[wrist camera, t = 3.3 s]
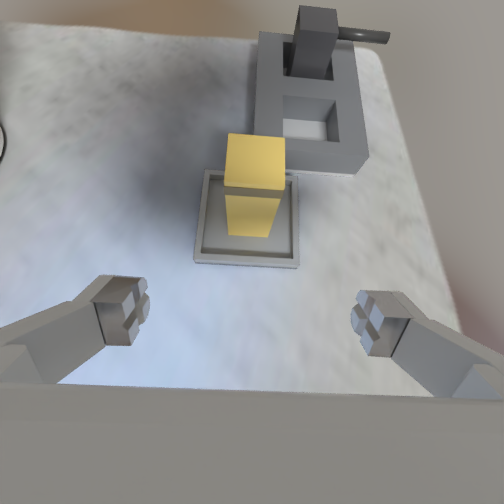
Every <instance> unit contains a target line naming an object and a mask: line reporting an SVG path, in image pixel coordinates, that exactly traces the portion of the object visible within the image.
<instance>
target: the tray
mask: <svg viewBox="0 0 504 504" xmlns="http://www.w3.org/2000/svg"><path fill="white" fill-rule="evenodd" d="M224 176H225V171H223V170H210V169H205V171H204V178H203V186H202V194H201V202H200V210H199V218H198V226H197V233H196V241H195V249H194V257H193V260H194V261H195V263H202V264H219V265H236V266H254V267H271V268H288V269H297V268H298V267H299V265H300V258H299V214H298V176H289V175H285V188H284V194H283V197H282V199H281V200H280V203H279V206H278V209H277V212H276V215H275V217H274V220H273V223H272V226H271V229H270V232H269V235H268V237H252V236H237V235H228V225H227V213H226V200H225V195H224Z"/></svg>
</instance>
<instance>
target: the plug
mask: <svg viewBox="0 0 504 504" xmlns="http://www.w3.org/2000/svg"><path fill="white" fill-rule="evenodd" d="M284 188H285V138H281V137H269V136H257V135H245V134H234V133H229V134H228V144H227V155H226V165H225V176H224V195H225V200H226V213H227V225H228V235H237V236H252V237H268V235H269V232H270V229H271V226H272V223H273V220H274V217H275V215H276V212H277V209H278V206H279V203H280V200H281V199H282V197H283V194H284Z"/></svg>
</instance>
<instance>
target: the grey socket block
mask: <svg viewBox="0 0 504 504" xmlns="http://www.w3.org/2000/svg"><path fill="white" fill-rule="evenodd" d="M389 38H390V32H384V31H374V30H366V29H356V28H346V27H338V21H337V12H336V9H329V8H320V7H311V6H301V5H299V10H298V15H297V20H296V25H295V31H294V35H290V34H280V33H271V32H261V31H260V32H259V42H258V55H257V71H256V90H255V109H254V129H253V135H257V136H269V137H281V138H285V172H291V173H304V174H317V175H330V176H343V177H354V176H355V174H356V173H357V172H358V171H359V169H360V168H361V167H362V165H363V164H364V163H365V161H366V160H367V159H368V158H369V151H368V144H367V137H366V130H365V123H364V116H363V109H362V102H361V95H360V88H359V81H358V74H357V67H356V60H355V53H354V46H353V41H359V42H369V43H377V44H387V42H388V40H389ZM337 39H339V40H337ZM347 40H349V41H347Z"/></svg>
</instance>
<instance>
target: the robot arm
mask: <svg viewBox="0 0 504 504" xmlns="http://www.w3.org/2000/svg"><path fill="white" fill-rule="evenodd" d="M3 142H4V139H3V133H2V129H1V127H0V156H1V153H2V150H3ZM147 288H148V286H147V281H146V279H145V278H144V277H131V276H118V275H117V276H116V275H99V276H98V277H97V278H96V279H95V280H94V281H93V282H92V283H91V284H90V285H89V286H87V287H86V288H85V289H84V290H83V291H82V292H81V293H80V294H79V295H78V296H77V297H76V298H75V299H74V300H72V301H66V302H63V303H61V304H58V305H56V306H53V307H51V308H49V309H46V310H44V311H41V312H39V313H36V314H34V315H31V316H29V317H26V318H24V319H21V320H19V321H17V322H14V323H12V324H9V325H7V326H4V327H2V328H0V504H504V356H503V355H501V354H499V353H497V352H495V351H493V350H491V349H489V348H487V347H485V346H483V345H482V344H480V343H478V342H476V341H474V340H472V339H470V338H468V337H466V336H464V335H462V334H460V333H458V332H456V331H454V330H452V329H451V328H449V327H447V326H445V325H443V324H441V323H439V322H437V321H435V320H429V319H428V318H427V317H426V315H425V314H424V313H423V312H422V311H421V310H420V309H419V308H418V307H417V306H416V305H415V304H414V303H413V302H412V301H411V300H410V299H409V298H408V297H407V296H406V295H405V294H404V293H402V292H400V291H372V290H360V291H359V292H358V294H357V297H356V300H357V302H358V304H357V305H355V306H354V307H353V308H352V312H351V324H352V327H353V329H354V331H355V332H356V333H357V334H358V335H360V336H361V339H360V342H361V344H362V346H363V348H364V350H365V352H366V353H367V355H368V356H375V357H389V358H391V359H392V360H393V361H394V362H395V363H397V364H398V365H399V366H400V367H401V368H402V369H403V370H405V371H406V372H407V373H408V374H409V375H410V376H411V377H413V378H414V379H415V380H416V381H417V382H418V383H420V384H421V385H422V386H423V387H424V388H425V389H426V390H428V391H429V392H430V393H431V394H432V395H433V396H435V397H420V396H391V395H363V394H335V393H308V392H279V391H250V390H222V389H193V388H164V387H136V386H107V385H79V384H56V383H58V382H59V381H60V380H62V379H63V378H64V377H66V376H67V375H68V374H70V373H71V372H72V371H74V370H75V369H76V368H78V367H79V366H80V365H82V364H83V363H84V362H86V361H87V360H88V359H90V358H91V357H92V356H94V355H95V354H96V353H98V352H99V351H100V350H102V349H103V348H104V347H105V345H111V346H131V345H132V344H133V342H134V340H135V338H136V336H137V335H138V333H139V325H141V324H142V323H144V322H145V320H146V318H147V316H148V313H149V309H150V300H149V296H148V295H147V294H146V293H145V291H146V289H147Z"/></svg>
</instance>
